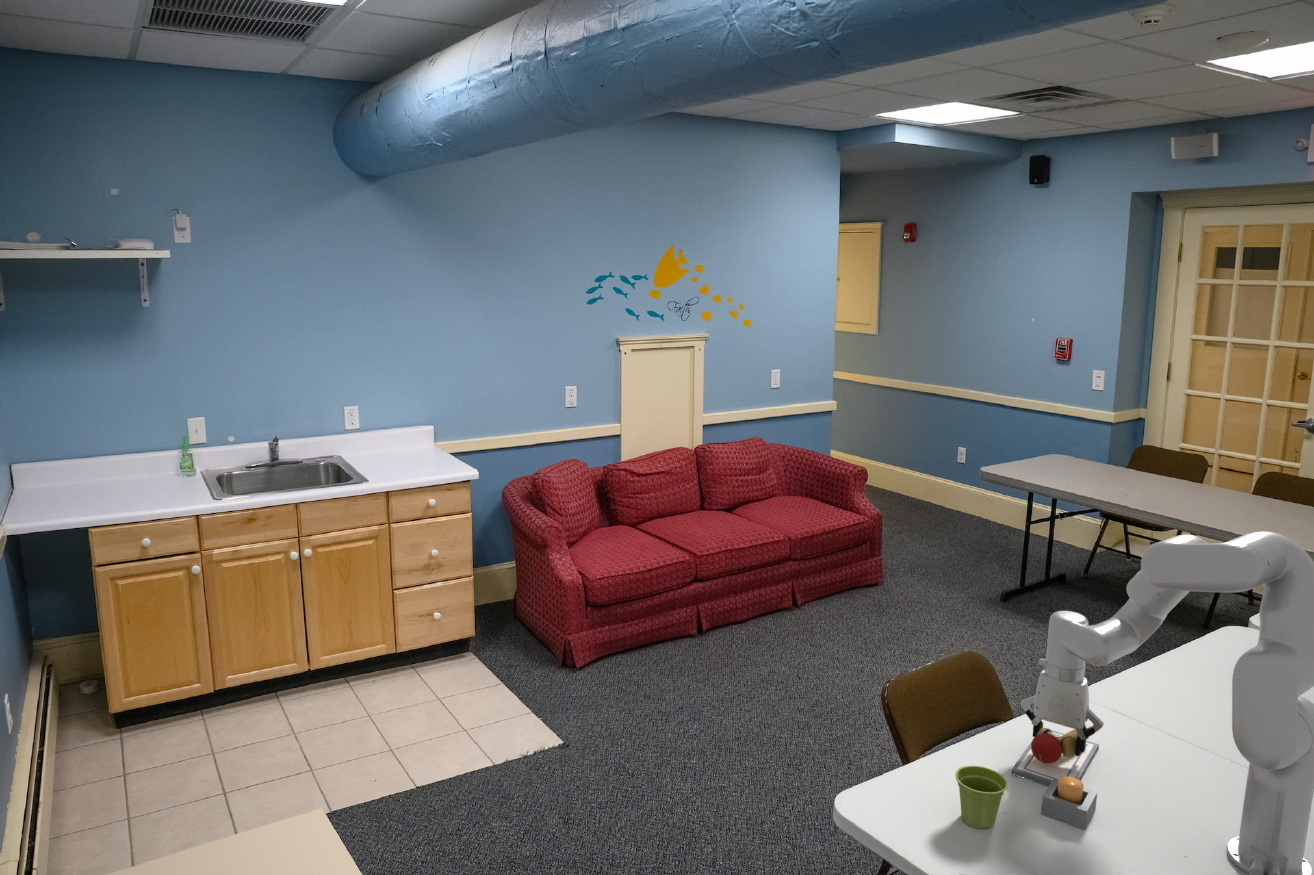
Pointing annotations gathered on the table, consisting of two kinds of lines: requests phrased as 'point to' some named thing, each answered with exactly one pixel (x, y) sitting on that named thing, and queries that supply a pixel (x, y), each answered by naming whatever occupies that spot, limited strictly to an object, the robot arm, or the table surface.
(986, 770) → the plant pot
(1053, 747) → the kendama
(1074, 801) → the button
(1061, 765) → the picture frame
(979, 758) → the table surface
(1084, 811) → the button housing
